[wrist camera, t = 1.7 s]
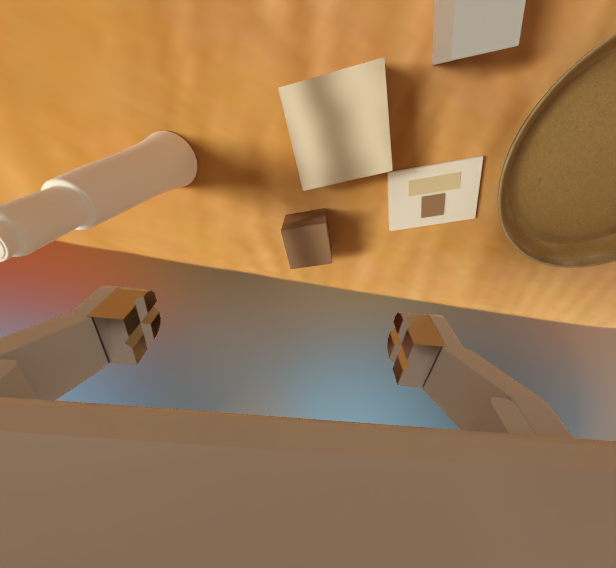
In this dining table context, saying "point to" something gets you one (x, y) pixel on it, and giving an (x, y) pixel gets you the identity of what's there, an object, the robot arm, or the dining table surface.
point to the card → (434, 193)
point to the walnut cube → (307, 239)
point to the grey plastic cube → (475, 27)
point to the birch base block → (339, 125)
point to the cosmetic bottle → (95, 193)
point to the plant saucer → (566, 169)
